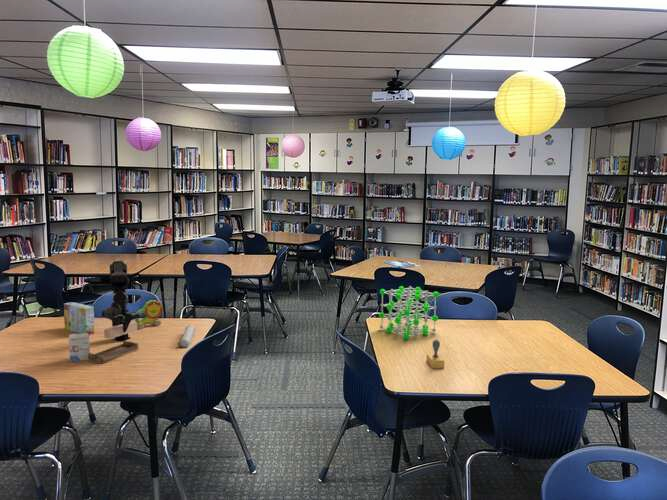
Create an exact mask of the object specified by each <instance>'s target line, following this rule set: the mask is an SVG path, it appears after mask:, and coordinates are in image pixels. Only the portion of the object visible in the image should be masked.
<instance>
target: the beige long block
mask: <svg viewBox="0 0 667 500" xmlns="http://www.w3.org/2000/svg"><path fill="white" fill-rule="evenodd" d="M135 332H138V328H137V322H135V321H131V322H130V324H129V326H128V328H127V330H126V332H124V331H123V324H121V325H118V326H114V327H112V326H110V327H108V328H104V329H103V334H104V335H103V336H104V338H106V339H109V340H111V339H114V338H115V337H118V336H121V335H124V334H128V335H129V334H131V333H135Z"/></svg>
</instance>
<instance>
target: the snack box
mask: <svg viewBox="0 0 667 500" xmlns="http://www.w3.org/2000/svg"><path fill="white" fill-rule="evenodd" d="M63 312H64V313H63V316H64V318H63V320H64V330H67V331H71V332H75V333H76V334H81V333H89V335H93V334H95V307H94V306H91V305H87V304H82V303H78V302H72V301H71V302H66V303H63Z"/></svg>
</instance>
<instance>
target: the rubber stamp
mask: <svg viewBox="0 0 667 500" xmlns="http://www.w3.org/2000/svg"><path fill="white" fill-rule="evenodd" d="M440 343H441V342H440V341H439V340H438V339H434V340H433V341H432V348H433V353H426V362H427V363H428V364H429V366H430V367H431V368H432V369H444V368H445V360H444V358H443V356H441V355H440V354H439V349H440V345H441V344H440Z"/></svg>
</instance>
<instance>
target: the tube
mask: <svg viewBox="0 0 667 500" xmlns="http://www.w3.org/2000/svg"><path fill="white" fill-rule="evenodd" d="M195 327H196V326H194V325H192V324H189V325H188V324H187V326H185V328H184V329H185V330H184V332H183V334H182V336H181V338H180V341H179V344H180V345H179V346H180V347H182V348H188V347H189V346H190V344H191V342H192V338H193V336H194V333H195V331H196V328H195Z"/></svg>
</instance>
